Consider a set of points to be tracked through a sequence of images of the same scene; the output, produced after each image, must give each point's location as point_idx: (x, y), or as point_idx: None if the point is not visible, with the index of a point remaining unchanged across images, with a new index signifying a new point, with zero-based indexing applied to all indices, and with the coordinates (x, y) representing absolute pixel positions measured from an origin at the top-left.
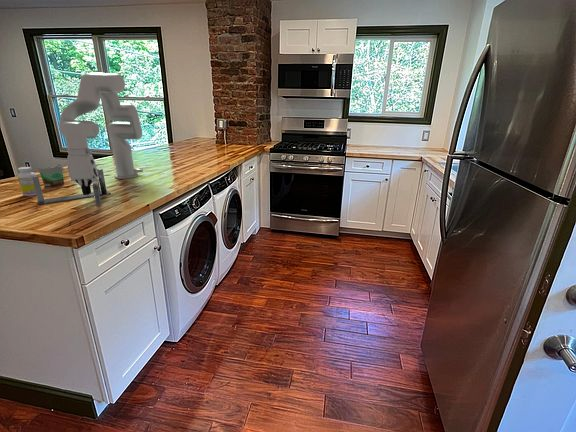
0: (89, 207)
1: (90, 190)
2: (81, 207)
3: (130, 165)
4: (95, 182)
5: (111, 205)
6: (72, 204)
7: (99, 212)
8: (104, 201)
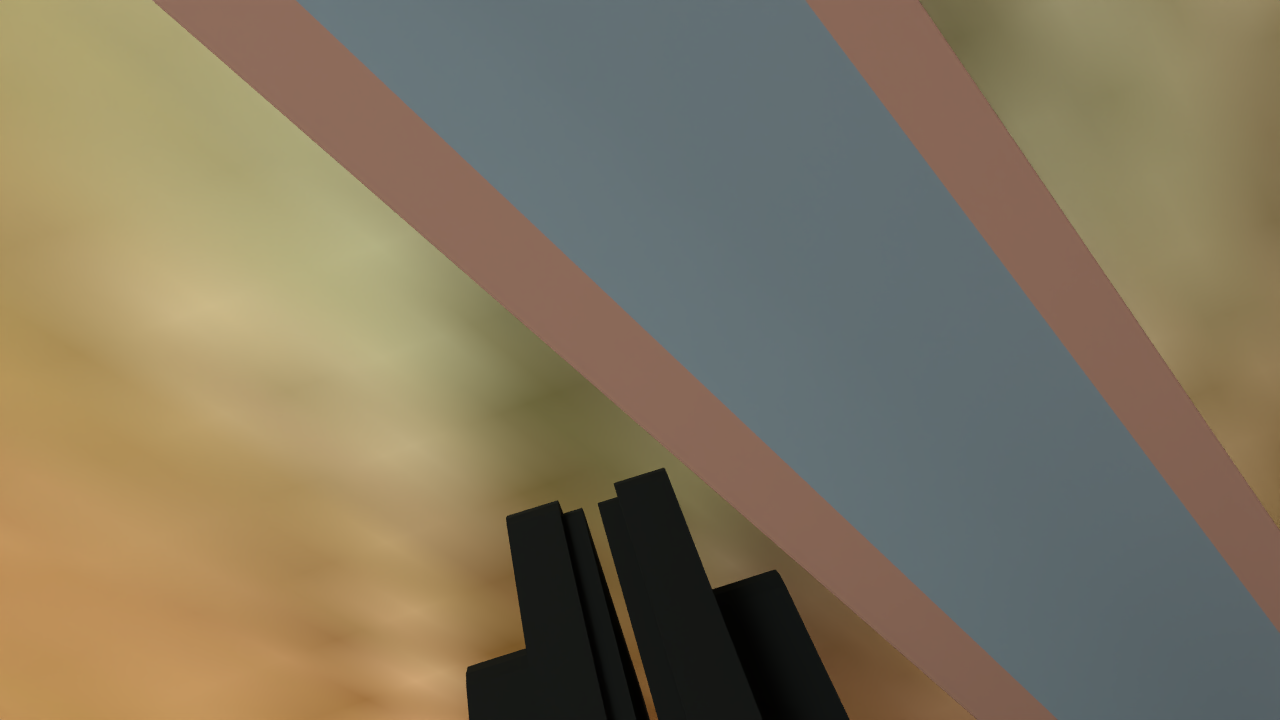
0: (825, 593)
1: (801, 638)
2: (639, 661)
3: None
4: (1190, 672)
5: (1272, 295)
6: (181, 615)
7: None
8: None
